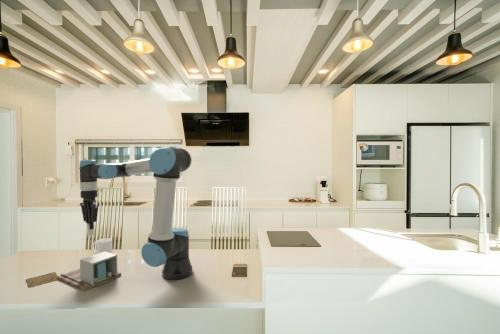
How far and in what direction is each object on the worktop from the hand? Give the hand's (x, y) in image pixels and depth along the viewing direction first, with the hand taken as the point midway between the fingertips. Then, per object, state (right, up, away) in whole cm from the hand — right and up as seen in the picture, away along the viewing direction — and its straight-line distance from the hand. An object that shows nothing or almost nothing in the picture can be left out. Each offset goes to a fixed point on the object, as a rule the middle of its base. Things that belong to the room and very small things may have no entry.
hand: (90, 235), depth 138 cm
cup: (-6, -19, +22) cm, 30 cm away
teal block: (+10, -19, -9) cm, 23 cm away
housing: (+10, -18, -9) cm, 23 cm away
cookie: (-19, -20, -8) cm, 29 cm away
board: (+2, -20, -5) cm, 21 cm away
